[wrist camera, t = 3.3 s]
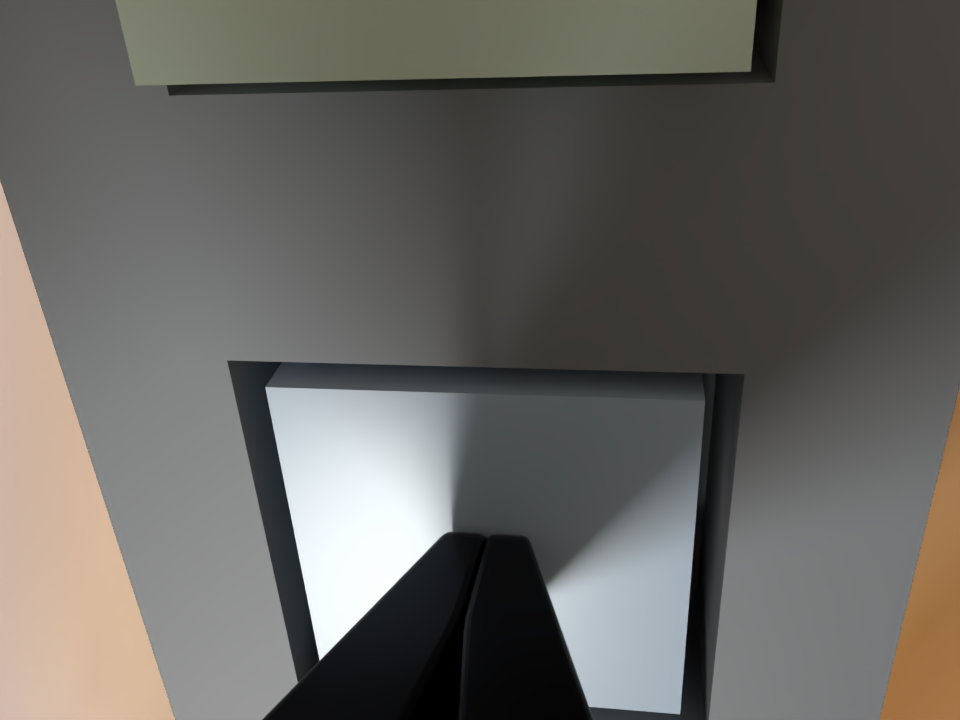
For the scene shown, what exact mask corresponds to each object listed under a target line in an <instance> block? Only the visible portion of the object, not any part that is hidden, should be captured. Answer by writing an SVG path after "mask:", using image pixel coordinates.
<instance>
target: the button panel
mask: <svg viewBox="0 0 960 720" xmlns="http://www.w3.org/2000/svg"><path fill="white" fill-rule="evenodd" d="M0 181H1V184H2V187H3V190H4V193H5V196H6V199H7V202H8V205H9V208H10V211H11V214H12V218H13V221H14V224H15V227H16V230H17V233H18V236H19V239H20V242H21V245H22V248H23V252H24V255H25V258H26V261H27V264H28V267H29V270H30V273H31V276H32V279H33V282H34V285H35V289H36V292H37V295H38V298H39V301H40V304H41V307H42V310H43V313H44V316H45V319H46V322H47V326H48V329H49V332H50V335H51V338H52V341H53V344H54V347H55V350H56V353H57V356H58V359H59V363H60V366H61V369H62V372H63V375H64V378H65V381H66V384H67V387H68V390H69V393H70V397H71V400H72V403H73V406H74V409H75V412H76V415H77V418H78V421H79V424H80V427H81V430H82V434H83V437H84V440H85V443H86V446H87V449H88V452H89V455H90V458H91V461H92V464H93V467H94V471H95V474H96V477H97V480H98V483H99V486H100V489H101V492H102V495H103V498H104V501H105V504H106V508H107V511H108V514H109V517H110V520H111V523H112V526H113V529H114V532H115V535H116V538H117V542H118V545H119V548H120V551H121V554H122V557H123V560H124V563H125V566H126V569H127V572H128V575H129V579H130V582H131V585H132V588H133V591H134V594H135V597H136V600H137V603H138V606H139V609H140V612H141V616H142V619H143V622H144V625H145V628H146V631H147V634H148V637H149V640H150V643H151V646H152V650H153V653H154V656H155V659H156V662H157V665H158V668H159V671H160V674H161V677H162V680H163V683H164V687H165V690H166V693H167V696H168V699H169V702H170V705H171V708H172V711H173V714H174V717H175V720H262V719H263V718H264V717H265V716H266V715H267V714H268V713H269V712H270V711H271V710H272V709H273V708H274V707H275V706H276V705H277V704H278V703H279V702H280V701H281V700H282V699H283V698H284V697H285V696H286V695H287V694H288V693H289V691H290V690H291V689H292V688H293V687H294V686H295V685H296V684H297V683H298V682H299V681H300V680H301V679H302V678H303V677H304V676H305V675H306V674H307V673H308V672H309V671H310V670H311V669H312V668H313V667H314V666H315V665H316V664H317V663H318V662H319V661H320V660H319V655H318V650H317V645H316V640H315V635H314V630H313V625H312V620H311V615H310V610H309V605H308V599H307V594H306V589H305V584H304V579H303V574H302V569H301V564H300V559H299V554H298V549H297V544H296V539H295V534H294V529H293V524H292V519H291V514H290V509H289V504H288V499H287V494H286V489H285V484H284V479H283V474H282V469H281V464H280V459H279V454H278V449H277V444H276V439H275V434H274V429H273V424H272V419H271V414H270V408H269V403H268V398H267V393H266V388H265V387H266V385H267V384H268V382H269V381H270V379H271V378H272V376H273V375H274V373H275V372H276V370H277V369H278V367H279V366H280V364H281V363H282V362H304V363H341V364H379V365H417V366H454V367H492V368H529V369H567V370H605V371H642V372H680V373H702V380H703V387H704V395H705V410H704V422H703V435H702V447H701V460H700V472H699V485H698V497H697V510H696V522H695V535H694V547H693V559H692V572H691V584H690V597H689V609H688V622H687V634H686V647H685V659H684V672H683V684H682V697H681V709H680V714H670V713H658V712H646V711H634V710H622V709H610V708H598V707H589V708H590V711H591V714H592V717H593V720H879V719H880V715H881V710H882V706H883V702H884V698H885V694H886V690H887V685H888V681H889V677H890V673H891V669H892V665H893V661H894V656H895V652H896V648H897V644H898V640H899V636H900V631H901V627H902V623H903V619H904V615H905V611H906V606H907V602H908V598H909V594H910V590H911V586H912V581H913V577H914V573H915V569H916V565H917V561H918V556H919V552H920V548H921V544H922V540H923V536H924V531H925V527H926V523H927V519H928V515H929V511H930V506H931V502H932V498H933V494H934V490H935V486H936V482H937V477H938V473H939V469H940V465H941V461H942V457H943V452H944V448H945V444H946V440H947V436H948V432H949V427H950V423H951V419H952V415H953V411H954V407H955V402H956V398H957V394H958V390H959V386H960V0H757V6H756V17H755V29H754V40H753V51H752V62H751V72H710V73H667V74H623V75H579V76H535V77H492V78H448V79H404V80H360V81H317V82H273V83H229V84H185V85H142V86H135V82H134V78H133V73H132V69H131V65H130V61H129V56H128V52H127V48H126V44H125V39H124V35H123V31H122V27H121V22H120V18H119V14H118V10H117V6H116V1H115V0H0Z"/></svg>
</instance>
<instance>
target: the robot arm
mask: <svg viewBox="0 0 960 720" xmlns="http://www.w3.org/2000/svg"><path fill="white" fill-rule="evenodd" d="M262 720H593V717H592V714H591V711H590V708H589V705H588V703H587V700H586V697H585V694H584V691H583V689H582V686H581V683H580V680H579V677H578V675H577V672H576V669H575V666H574V663H573V660H572V658H571V655H570V652H569V649H568V646H567V644H566V641H565V638H564V635H563V632H562V630H561V627H560V624H559V621H558V618H557V615H556V613H555V610H554V607H553V604H552V601H551V599H550V596H549V593H548V590H547V587H546V584H545V582H544V579H543V576H542V573H541V570H540V568H539V565H538V562H537V559H536V556H535V554H534V551H533V548H532V545H531V542H530V541H529V539H528V538H527V537H525V536H519V535H502V534H492V535H490V536H489V537H488V538H487V539H486V537H485V536H484V535H483V534H480V533H466V532H447V533H445V534H443V535H442V536H441V537H440V538H439V539H438V540H437V541H436V542H435V543H434V544H433V545H432V546H431V547H430V548H429V549H428V550H427V551H426V552H425V553H424V554H423V555H422V556H421V558H420V559H419V560H418V561H417V562H416V563H415V564H414V565H413V566H412V567H411V568H410V569H409V570H408V571H407V572H406V573H405V574H404V575H403V576H402V577H401V578H400V579H399V580H398V581H397V582H396V583H395V584H394V585H393V586H392V587H391V588H390V589H389V590H388V591H387V592H386V593H385V594H384V595H383V596H382V597H381V598H380V599H379V600H378V601H377V603H376V604H375V605H374V606H373V607H372V608H371V609H370V610H369V611H368V612H367V613H366V614H365V615H364V616H363V617H362V618H361V619H360V620H359V621H358V622H357V623H356V624H355V625H354V626H353V627H352V628H351V629H350V630H349V631H348V632H347V633H346V634H345V635H344V636H343V637H342V638H341V639H340V640H339V641H338V642H337V643H336V644H335V645H334V646H333V648H332V649H331V650H330V651H329V652H328V653H327V654H326V655H325V656H324V657H323V658H322V659H321V660H320V661H319V662H318V663H317V664H316V665H315V666H314V667H313V668H312V669H311V670H310V671H309V672H308V673H307V674H306V675H305V676H304V677H303V678H302V679H301V680H300V681H299V682H298V683H297V684H296V685H295V686H294V687H293V688H292V689H291V690H290V691H289V693H288V694H287V695H286V696H285V697H284V698H283V699H282V700H281V701H280V702H279V703H278V704H277V705H276V706H275V707H274V708H273V709H272V710H271V711H270V712H269V713H268V714H267V715H266V716H265V717H264V718H263V719H262Z"/></svg>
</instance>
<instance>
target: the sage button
mask: <svg viewBox="0 0 960 720" xmlns="http://www.w3.org/2000/svg"><path fill="white" fill-rule="evenodd" d="M115 1H116V6H117V10H118V14H119V18H120V22H121V27H122V31H123V35H124V39H125V44H126V48H127V52H128V56H129V61H130V65H131V69H132V73H133V78H134V82H135V86H142V85H185V84H229V83H273V82H317V81H360V80H404V79H448V78H492V77H535V76H579V75H623V74H667V73H710V72H751V62H752V51H753V40H754V29H755V17H756V6H757V0H115Z"/></svg>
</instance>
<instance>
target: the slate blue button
mask: <svg viewBox="0 0 960 720" xmlns="http://www.w3.org/2000/svg"><path fill="white" fill-rule="evenodd" d="M265 388H266V393H267V398H268V403H269V408H270V414H271V419H272V424H273V429H274V434H275V439H276V444H277V449H278V454H279V459H280V464H281V469H282V474H283V479H284V484H285V489H286V494H287V499H288V504H289V509H290V514H291V519H292V524H293V529H294V534H295V539H296V544H297V549H298V554H299V559H300V564H301V569H302V574H303V579H304V584H305V589H306V594H307V599H308V605H309V610H310V615H311V620H312V625H313V630H314V635H315V640H316V645H317V650H318V655H319V660H321V659H322V658H323V657H324V656H325V655H326V654H327V653H328V652H329V651H330V650H331V649H332V648H333V646H334V645H335V644H336V643H337V642H338V641H339V640H340V639H341V638H342V637H343V636H344V635H345V634H346V633H347V632H348V631H349V630H350V629H351V628H352V627H353V626H354V625H355V624H356V623H357V622H358V621H359V620H360V619H361V618H362V617H363V616H364V615H365V614H366V613H367V612H368V611H369V610H370V609H371V608H372V607H373V606H374V605H375V604H376V603H377V601H378V600H379V599H380V598H381V597H382V596H383V595H384V594H385V593H386V592H387V591H388V590H389V589H390V588H391V587H392V586H393V585H394V584H395V583H396V582H397V581H398V580H399V579H400V578H401V577H402V576H403V575H404V574H405V573H406V572H407V571H408V570H409V569H410V568H411V567H412V566H413V565H414V564H415V563H416V562H417V561H418V560H419V559H420V558H421V556H422V555H423V554H424V553H425V552H426V551H427V550H428V549H429V548H430V547H431V546H432V545H433V544H434V543H435V542H436V541H437V540H438V539H439V538H440V537H441V536H442V535H443V534H445V533H447V532H466V533H480V534H483V535H484V536H485V537H486V539H487V538H488V537H489V536H490V535H492V534H502V535H519V536H525V537H527V538H528V539H529V541H530V542H531V545H532V548H533V551H534V554H535V556H536V559H537V562H538V565H539V568H540V570H541V573H542V576H543V579H544V582H545V584H546V587H547V590H548V593H549V596H550V599H551V601H552V604H553V607H554V610H555V613H556V615H557V618H558V621H559V624H560V627H561V630H562V632H563V635H564V638H565V641H566V644H567V646H568V649H569V652H570V655H571V658H572V660H573V663H574V666H575V669H576V672H577V675H578V677H579V680H580V683H581V686H582V689H583V691H584V694H585V697H586V700H587V703H588V705H589V707H598V708H610V709H622V710H634V711H646V712H658V713H670V714H680V709H681V697H682V684H683V672H684V659H685V647H686V634H687V622H688V609H689V597H690V584H691V572H692V559H693V547H694V535H695V522H696V510H697V497H698V485H699V472H700V460H701V447H702V435H703V422H704V410H705V395H704V387H703V380H702V373H680V372H642V371H605V370H567V369H529V368H492V367H454V366H417V365H379V364H341V363H304V362H282V363H281V364H280V366H279V367H278V369H277V370H276V372H275V373H274V375H273V376H272V378H271V379H270V381H269V382H268V384H267V385H266V387H265Z"/></svg>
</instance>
